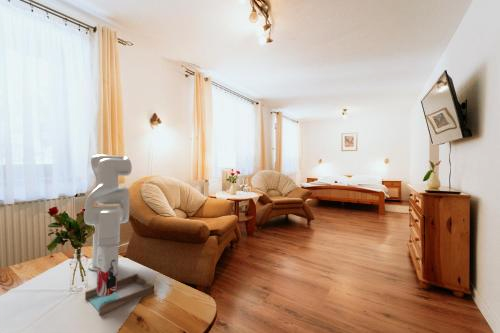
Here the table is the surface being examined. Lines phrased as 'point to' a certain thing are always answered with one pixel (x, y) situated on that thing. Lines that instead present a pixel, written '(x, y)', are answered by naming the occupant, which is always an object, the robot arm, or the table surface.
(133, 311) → the table surface
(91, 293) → the bay
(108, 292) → the soda can
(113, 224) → the robot arm
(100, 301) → the front mat
